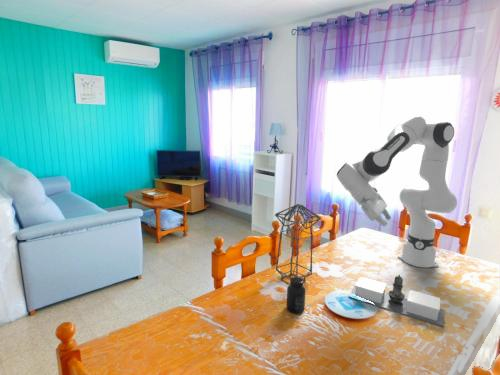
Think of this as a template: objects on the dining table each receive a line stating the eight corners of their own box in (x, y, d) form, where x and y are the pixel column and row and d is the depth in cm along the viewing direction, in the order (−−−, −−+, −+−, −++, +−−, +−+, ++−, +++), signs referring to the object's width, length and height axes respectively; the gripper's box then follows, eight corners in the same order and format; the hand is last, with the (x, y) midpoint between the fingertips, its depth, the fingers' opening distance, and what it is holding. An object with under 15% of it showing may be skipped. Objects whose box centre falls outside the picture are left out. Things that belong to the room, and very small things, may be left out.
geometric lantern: (268, 278, 141) (272, 202, 135) (293, 269, 151) (298, 198, 145) (293, 292, 129) (299, 210, 123) (318, 283, 139) (325, 206, 133)
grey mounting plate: (355, 285, 137) (357, 274, 136) (443, 310, 120) (445, 298, 119) (348, 297, 127) (349, 285, 126) (443, 327, 110) (445, 313, 109)
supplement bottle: (305, 306, 120) (307, 277, 118) (302, 316, 114) (304, 286, 111) (288, 302, 122) (289, 274, 120) (284, 312, 116) (286, 282, 114)
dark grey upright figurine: (405, 308, 120) (409, 279, 118) (389, 305, 121) (393, 277, 119) (401, 299, 126) (405, 272, 124) (385, 297, 127) (389, 270, 125)
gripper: (365, 197, 124) (389, 225, 121) (376, 187, 141) (397, 211, 138) (353, 206, 127) (376, 233, 124) (365, 195, 144) (385, 219, 141)
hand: (387, 222), depth 131 cm, fingers open, 8 cm apart
